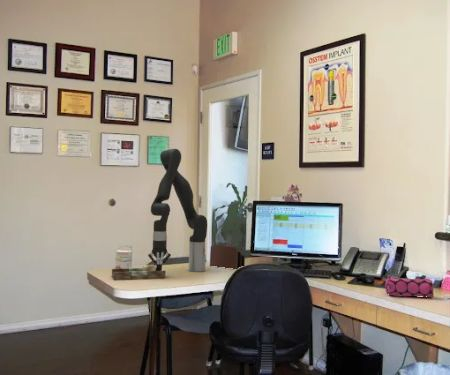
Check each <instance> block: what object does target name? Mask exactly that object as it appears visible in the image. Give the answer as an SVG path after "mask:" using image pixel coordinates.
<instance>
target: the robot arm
mask: <svg viewBox="0 0 450 375" xmlns="http://www.w3.org/2000/svg"><path fill="white" fill-rule="evenodd" d="M159 157H160V162H161V165H162V166H163V168H164V170H165V171H166V172H165V174H164V175H163V176H162V178H161V179H160V182H159V185H158V189H157V192H156V193H157V194H156V196H155V198H154V199H153V201H152V203H151V207H150V213H151V215H153V216H156V217H157V216H158V217H159V216H160V219H156V220H154V221H153V230H152V250H151V252H150V253H148V254H147V257H148V258H149V259H150V260H151V261H152V263H154V265H155V266H156V269H157V271H161V270H162V271H163V264H165V263H167V261H168V260H169V259H170V258H171V256H172V255H171V253H169V252H168V250H167V243H168V242H167V241H168V240H167V239H168V236H167V225H168V224H167V223H168V220H169V215H170V212H171V208H170V204H168V203H166V202H165V201H168V200H169V199H170V196H171V192H172V187H173V188H174V192H175V194H176V197H177V198H178V201H179V203H180V205H181V209H182V211H183V214H184V217H185V220H186V223H187V226H188V227H189V228H190V229H191V230H193V233H192V235H190V236H189V245H188V246H189V249H188V252H189V253H188V271H189V272H195V273H196V272H198V273H199V272H206V259H207V258H206V254H205V253H206V252H205V251H206V238H207V236H208V220H207V217H206V216H205V215H203V214H198V213H197V211H196V209H195V206H194V192H193V190H192V187H191V184H190V183H189V181H188V180H187V178H185V176H183V175H182V174H181V173H180V172H179V170H178V169H179V167H180V164H181V162H182V152H181V151H180V150H179V149H178V148H170V149H165V150H162V151H161V153H160V156H159ZM154 257H155V259H154Z"/></svg>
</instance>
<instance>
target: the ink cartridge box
mask: <svg viewBox="0 0 450 375" xmlns="http://www.w3.org/2000/svg"><path fill="white" fill-rule="evenodd" d="M132 262H133V246H132V245H129V244H128V245H127V244H125V245H124V244H123V245H122V244H119V245H118V250H116V251H115V262H114V263H115V267H114V269H120V268H133V266H132V265H133V263H132Z"/></svg>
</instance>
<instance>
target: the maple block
mask: <svg viewBox="0 0 450 375" xmlns="http://www.w3.org/2000/svg"><path fill="white" fill-rule="evenodd" d="M142 268H143V271H156V264H143V266H142Z"/></svg>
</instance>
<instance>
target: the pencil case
mask: <svg viewBox="0 0 450 375" xmlns="http://www.w3.org/2000/svg"><path fill="white" fill-rule="evenodd" d="M384 290H385V293H386V294H387V293H388V294H389V295H401V296H404V297H407V296H423V297H426V296H427V297H432V298H434V283H433V280H431V279H430V278H428V277H427V278H423V279H422V278H421V279H419V278H405V277H404V278H401V277H396V276H393V275H392V276H391V275H390V274H388V276H387V278H386V280H385V287H384ZM389 295H388V296H389Z"/></svg>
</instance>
